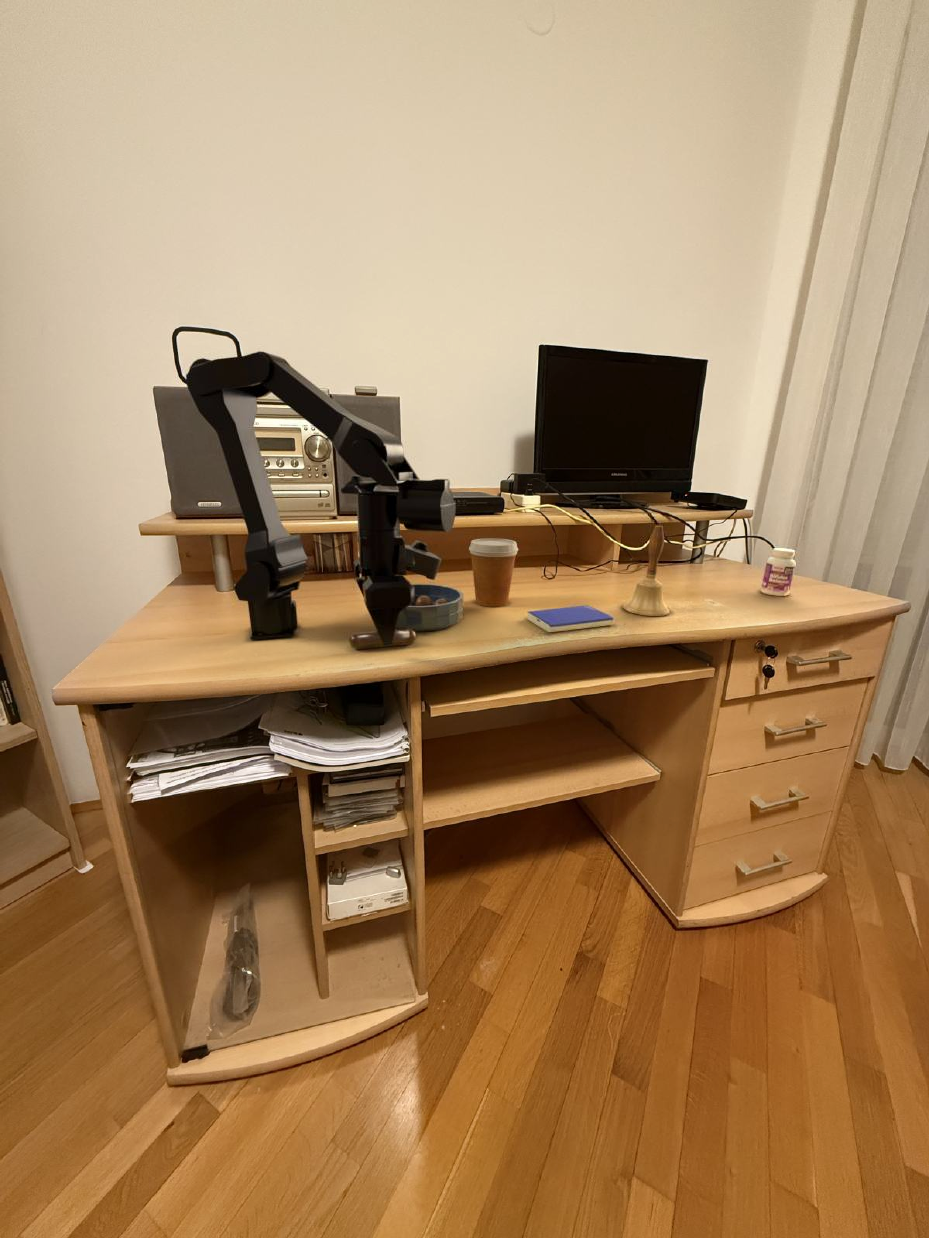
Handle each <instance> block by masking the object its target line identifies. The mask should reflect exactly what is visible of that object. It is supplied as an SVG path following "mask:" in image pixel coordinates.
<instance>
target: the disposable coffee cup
mask: <svg viewBox="0 0 929 1238" xmlns="http://www.w3.org/2000/svg"><path fill="white" fill-rule="evenodd" d="M468 550H469V553H470V554H471V567H472V575H473V576H472V577H473V587H474V597H475V603H476V604H477V605H479V606H483V607H491V608H492V607H493V608H494V607H503V606H506V605H508V604H509V603H508V602H509V597H510V591H511V590H510V589H511V585H512V579H513V573H514V569H515V568H514V567H515V561H516V557H517V554H518V551H519V550H520V549H519V548H518V545H517V541H515V540H512V539H507V538H496V537H495V538H493V537H492V538H491V537H490V538H488V537H487V538H486V537H485V538H476V539H473V540H471V541H470V546H469V547H468Z"/></svg>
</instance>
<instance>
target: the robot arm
mask: <svg viewBox="0 0 929 1238" xmlns="http://www.w3.org/2000/svg"><path fill="white" fill-rule="evenodd" d="M185 383H186V387H187V390H188V392H189V394H190V396H191V398H192V401H193V403H194V406H195V407H196V409H197V412H198V413H199V414H200V415H201V416H202V418H203V419H204V420H205V421H206V422H207V424H209V426H210V427H211V428H212V429H213V430H214V432H215V434H216V435H217V438H218V440H219V445H220V448H221V451H222V454H223V456H224V457H223V458H224V460H225V463H226V466H227V469H228V474H229V476H230V479H231V483H232V486H233V489H234V492H235V495H236V498H237V501H238V504H239V507H240V511H241V515H242V517H243V520H244V523H245V527H246V530H247V537H246V538H247V539H246V542H245V543H246V544H245V547H244V553H243V554H244V561H245V567H246V571H245V572H244V573H243V574H242V576H241V577H240V579H239V580H238V581H237V582H236V584H235V585H234V586H233V590H234V592H235V595H236V597H237V599H238V601H240V602H241V601H243V602H247V607H248V608H247V609H248V615H249V623H250V624H249V625H250V634H249V639H250V640H251V641H253V640H265V639H277V638H279V639H280V638H288V637H290V638H291V637H294V636H296V630H298V628H299V619H298V607H297V601H296V600H294V599H293V597H292V593H293V592H294V591H298V590H299V589H300V585H301V581H302V579H303V578H304V576H305V574H306V572H307V568H308V567H307V562H306V561H308V560H309V557H308V556H307V553H306V552H305V550H304V544H303V538H302V537H301V535H300V534H293V535H292V534H290V533H289V531H288V530H287V529H286V527H284V525H283V523H282V520H281V517H280V513H279V509H278V506H277V503H276V499H275V495H274V492H273V490H272V487H271V483H270V479H269V476H268V473H267V469H266V466H265V462H264V459H263V456H262V453H261V449H260V446H259V442H258V439H257V435H256V433H255V427H254V426H255V421H256V417H257V412H258V401H257V399H261V398H265V397H267V396H269V395H271V394H273V395H274V396H275V397H276V398H278V400H281V402H282V403H284V404H285V405H286V406H288V407H289V408H290V409H291V410H293V411H294V412H295V413H297V414H298V415H299V416H300V417H301V418H302V419H304V421H307V422H308V423H309V424H311V425H312V426H313V427H314V428H315V429H317V430H318V431H319V432H320V433H322V434H323V435H324V436H325V437H326V438H327V439H328V440H329V441H330V442H331V444H332V446H333V448H334V449H335V452H336V454H337V455H338V456H339V458H340V459H341V460H342V461H343V462H344V463H345V464H346V465H347V466H348V468H349V469H350V470H351V471H352V472H353V473H354V474H356V475H352V476H351V478H350V479H349V481H348V482H347V483H345V484H344V486H342V488H340V492H341V493H342V494H344V495H345V494H346V495H356V514H357V515H356V516H357V533H356V540H357V543H358V554H359V556H358V557H357V558H356V559H355V560H354V561H353V575H354V576H355V582H356V584H357V586H358V588H359V591H360V592H361V595H362V597H363V603H364V605H365V608H366V610H367V612H368V614H369V616H370V619H371V621H372V623H373V625H374V627H375V629H376V631H378V634H379V636H380V638H381V640H382V643H383V645H384V646H388V647H391V646H390V645H392V642H393V637H394V633H395V630H397V629H396V625H397V621H398V617H399V614H400V612H401V611H402V610H403V609H404V608H405V607H408V606H410V605H411V603H412V602H414V587H413V586H412V584H413V583H411V581H409V579H407V578H406V577H405V576H407V572H410V573H413V574H416V575H420V576H423V577H426V579H428V580H432V581H435V579H436V578H437V574H438V571H439V568H440V565H441V563H442V558H441V557H439V556H438V555H436V554H435V553H433V552H430V551H428V545H427V544H426V543H424V542H421V541H419V540H414V542H412V543H411V544H410V545H409V544H406V540H405V538H403V536H402V535H401V525H403V527H404V528H405V530H408V531H416V532H417V531H418V532H435V533H450V532H451V531H452V529H453V527H454V523H455V518H456V510H457V509H456V507H457V505H456V503H455V501H454V499H455V498H454V495H453V492H452V489H451V488H450V485H451V482H450V479H449V478H435V479H420V478H419V476H418V475H417V473H416V471H415V470H414V468H413V467H412V466H411V464H410V463H409V461H408V460H407V458H406V457H405V451H404V444H403V443H402V441H401V440H400V438H399V437H397V435H396V434H395V435H394V434H393V433H392V432H390V431H388V430H385V429H383V428H382V427H380V426H378V425H376V424H374V423H372V422H369V421H367V420H365V419H362V418H360V417H358V416H356V415H354V414H352V413H351V412H349V411H348V410H347V409H346V408H345V407H343V406H342V405H341V404H340V403H338V402H337V401H336V400H335V399H333V398H332V397H331V396H329V395H328V394H327V393H325V392H324V391H323V390H322V389H320V388H319V387H318V386H317V385H315V384H314V383H313V382H312V381H310V380H309V379H307V377H305V376H304V375H303V374H301V373H300V372H299V371H297V369H295V368H294V367H293V366H292V365H290V363H289V362H288V361H287V360H286V359H285V358H284V357H281V356H279V355H275V354H272V353H270V352H265V351H261V350H260V351H256V352H252V353H248V354H246V355H242V356H241V355H240V356H232V357H231V356H230V357H223V358H215V359H208V358H197V359H196V360H194V361H193V362H192V364H191V365H190V366H189V369H188V372H187V373H186V374H185ZM364 478H370V479H372V480H373V481H368V480H367V481H366V479H364ZM389 487H392V488H393V487H394V488H395V487H398V489H390V488H389Z"/></svg>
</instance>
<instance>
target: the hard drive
mask: <svg viewBox="0 0 929 1238" xmlns="http://www.w3.org/2000/svg"><path fill="white" fill-rule="evenodd" d="M526 618H527V620H528V621H530V622H532V623H533V624H535V625H536V626H538V627H540V628H541V629H543V630H544V631H546V632H548V633H554V632H556V633H557V632H564V631H573V630H579V629H588V628H597V627H604V626H612V625H614V617H613V616H612V615H610V614H608V613H606V612H604V611H602V610H599V609H597V608H595V607H593V606H590V605H588V604H585V605H577V606H575V605H574V606H567V607H557V608H548V609H540V610H529V611H527V612H526Z"/></svg>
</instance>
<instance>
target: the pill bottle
mask: <svg viewBox="0 0 929 1238" xmlns="http://www.w3.org/2000/svg"><path fill="white" fill-rule="evenodd" d="M771 554H772V557H769V558H768V559H767V560H766V565H765V569H764V572H763V577H762V581H761V586H760V591H761V592H762V593H763V594H766V595H770V596H777V597H783V596H784V597H785V596H788V595H789V594H790V590H791V587H792V582H793V580H794V579H793V578H794V575H795V570H796V565H797V563H796V561H795V560H794V559H793V558H794V557H795V554H796V550H794V549H791V548H784V547H783V548H781V547H774V548H773V550H772V553H771Z"/></svg>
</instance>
